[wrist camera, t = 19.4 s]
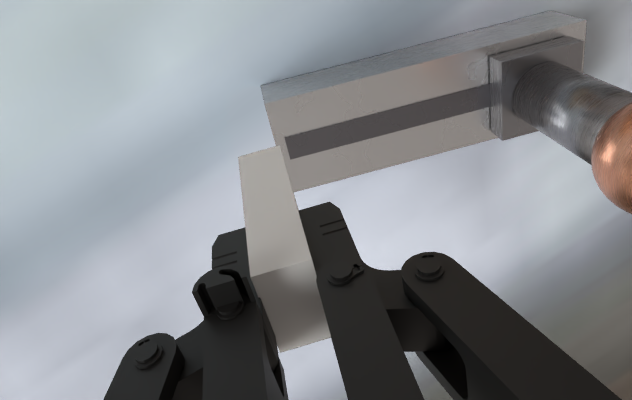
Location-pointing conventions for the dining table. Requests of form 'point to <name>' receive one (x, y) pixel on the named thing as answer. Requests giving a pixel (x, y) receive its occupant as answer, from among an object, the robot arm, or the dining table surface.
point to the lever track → (397, 102)
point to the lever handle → (565, 110)
